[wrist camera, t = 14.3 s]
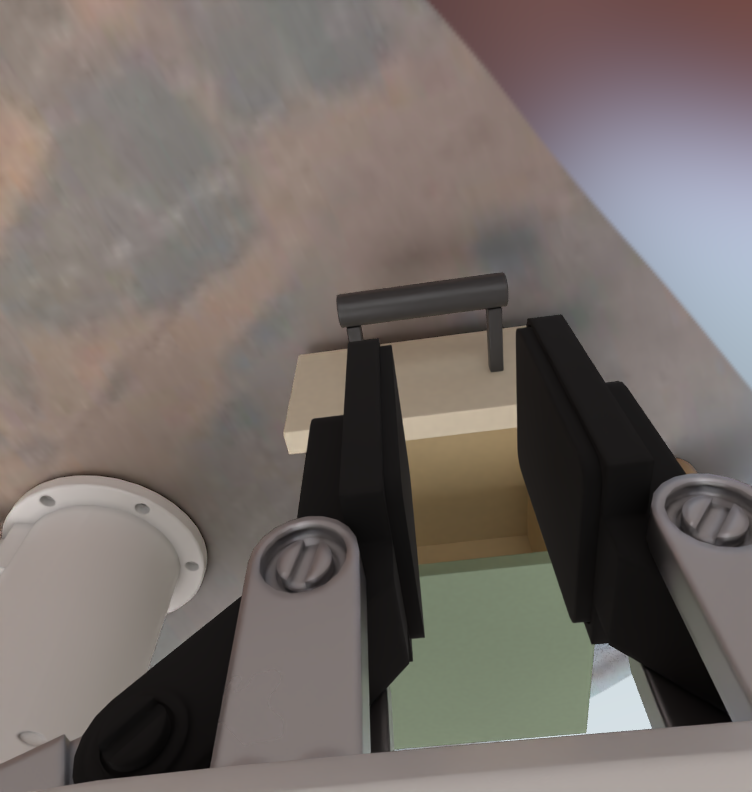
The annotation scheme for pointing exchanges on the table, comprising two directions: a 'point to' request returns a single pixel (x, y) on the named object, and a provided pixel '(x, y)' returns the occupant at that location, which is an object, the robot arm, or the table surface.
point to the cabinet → (493, 656)
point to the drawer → (440, 416)
